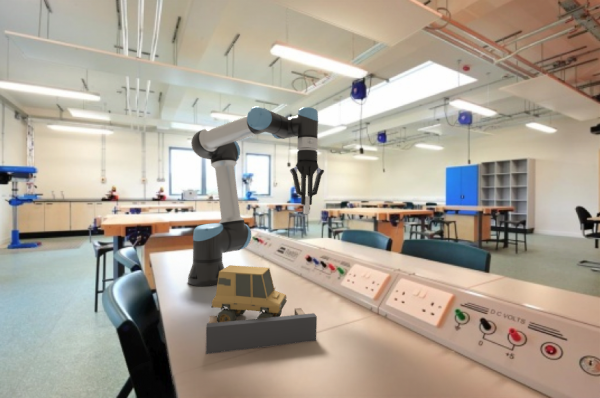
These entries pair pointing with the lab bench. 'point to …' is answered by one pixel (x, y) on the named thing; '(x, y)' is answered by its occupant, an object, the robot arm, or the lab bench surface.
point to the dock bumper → (260, 332)
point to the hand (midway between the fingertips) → (306, 213)
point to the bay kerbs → (297, 312)
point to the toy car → (247, 293)
